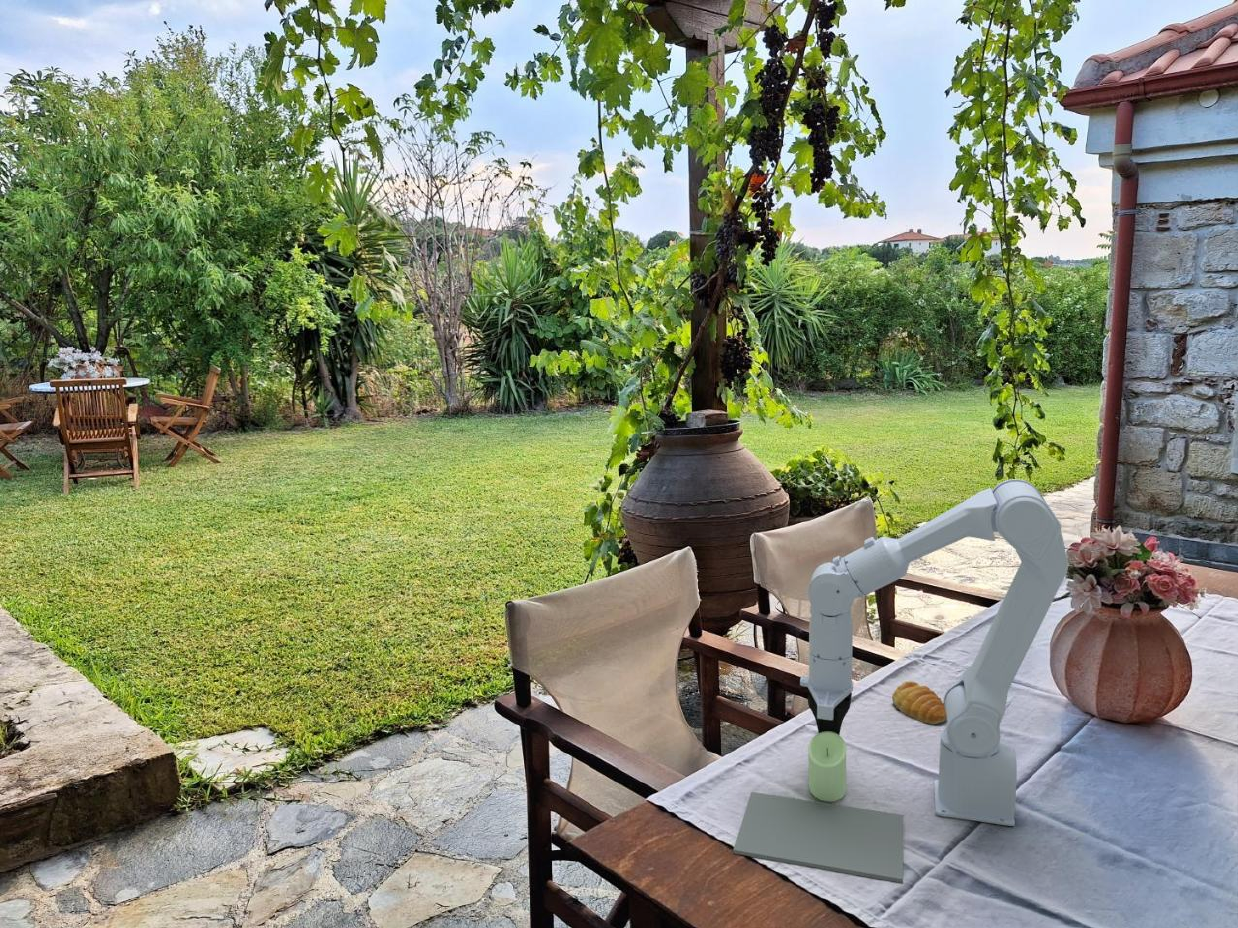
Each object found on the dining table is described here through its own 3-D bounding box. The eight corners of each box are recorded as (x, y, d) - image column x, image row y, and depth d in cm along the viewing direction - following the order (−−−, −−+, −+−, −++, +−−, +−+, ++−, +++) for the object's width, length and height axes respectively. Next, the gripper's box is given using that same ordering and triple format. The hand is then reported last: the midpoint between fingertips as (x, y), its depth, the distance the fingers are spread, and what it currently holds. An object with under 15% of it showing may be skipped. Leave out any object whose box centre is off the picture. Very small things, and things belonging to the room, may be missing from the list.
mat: (903, 817, 112) (903, 814, 112) (902, 882, 100) (902, 879, 100) (751, 794, 118) (751, 791, 118) (733, 853, 106) (733, 849, 106)
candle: (837, 807, 115) (837, 764, 111) (803, 792, 118) (801, 750, 114) (852, 781, 118) (852, 739, 114) (818, 767, 121) (817, 725, 117)
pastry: (959, 721, 136) (960, 699, 135) (925, 731, 134) (925, 708, 133) (919, 697, 145) (920, 676, 144) (886, 705, 143) (887, 684, 142)
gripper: (806, 628, 124) (806, 714, 127) (793, 670, 111) (793, 766, 113) (857, 633, 122) (855, 720, 124) (850, 676, 108) (848, 774, 111)
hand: (829, 743), depth 119 cm, fingers closed
